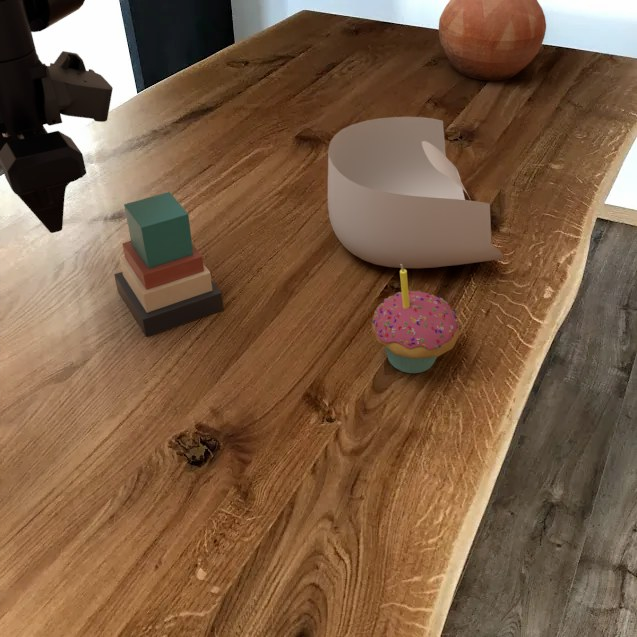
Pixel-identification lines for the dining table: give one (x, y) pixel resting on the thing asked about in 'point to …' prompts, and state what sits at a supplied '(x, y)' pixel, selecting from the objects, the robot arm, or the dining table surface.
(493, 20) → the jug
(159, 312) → the stack
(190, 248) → the toy cube
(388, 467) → the dining table surface
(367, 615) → the dining table surface
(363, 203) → the bowl
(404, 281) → the cupcake
